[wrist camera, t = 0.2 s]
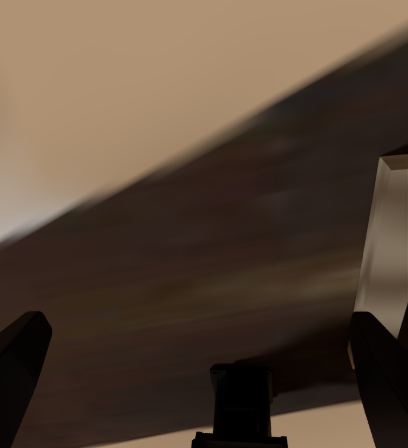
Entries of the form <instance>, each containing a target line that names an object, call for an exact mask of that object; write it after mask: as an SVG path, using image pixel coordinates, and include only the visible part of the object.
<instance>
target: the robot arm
mask: <svg viewBox="0 0 408 448" xmlns="http://www.w3.org/2000/svg"><path fill="white" fill-rule="evenodd" d="M51 337H52V328H51V326H50V324H49V322H48V321H47V319H46V317H45V316H44V314H43V313H42V312H40V311H29V312H26V313H24V314H23V315H22V316H20V317H19V318H18V319H17V320H15V321H14V322H13V323H11V324H10V325H9V326H7V327H6V328H5V329H4V330H2V331H1V332H0V448H11V446H12V443H13V441H14V439H15V436H16V434H17V431H18V429H19V426H20V424H21V422H22V419H23V417H24V414H25V412H26V410H27V407H28V405H29V402H30V400H31V397H32V395H33V393H34V390H35V387H36V385H37V382H38V379H39V376H40V373H41V369H42V366H43V363H44V360H45V356H46V353H47V350H48V346H49V343H50V340H51ZM349 341H350V346H351V351H352V357H353V362H354V367H355V372H356V378H357V383H358V388H359V393H360V397H361V401H362V404H363V407H364V411H365V414H366V417H367V420H368V424H369V427H370V430H371V433H372V437H373V440H374V443H375V446H376V448H408V350H407V349H406V348H405V347H404V346H403V345H402V344H401V343H400V342H399V341H398V340H397V339H396V338H395V337H394V336H393V335H392V334H391V333H390V332H389V331H388V330H387V329H386V327H385V326H384V325H383V324H382V323H381V322H380V321H379V320H378V319H377V318H376V317H375V316H374V315H373V314H372V313H370V312H368V311H355V312H353V314H352V318H351V322H350V327H349ZM210 375H211V380H212V385H213V389H214V394H215V412H214V426H213V433H202V432H196V437H195V439H193V440H192V445H191V448H288V444H287V437H286V436H281V437H272V436H271V419H270V404H271V403H273V389H272V370H271V369H270V368H267V367H211V368H210Z"/></svg>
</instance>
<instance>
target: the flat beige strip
mask: <svg viewBox="0 0 408 448" xmlns="http://www.w3.org/2000/svg"><path fill="white" fill-rule="evenodd" d="M407 303H408V154H405V155H392V156H380V159H379V165H378V171H377V177H376V183H375V189H374V195H373V201H372V207H371V212H370V218H369V224H368V230H367V236H366V242H365V248H364V254H363V260H362V266H361V272H360V278H359V284H358V290H357V296H356V302H355V308H354V312H355V311H368V312H370V313H372V314H373V315H374V316H375V317H376V318H377V319H378V320H379V321H380V322H381V323H382V324H383V325H384V326H385V327H386V329H387V330H388V331H389V332H390V333H391V334H392V335H393V336H394V337H395V338H396V339H397V337H398V334H399V331H400V327H401V324H402V320H403V317H404V314H405V310H406V307H407ZM347 351H348V354H349V358H350V361H351V365H352V368H353V369H355V367H354V362H353V357H352V351H351V346H350V341H349V343H348V349H347Z"/></svg>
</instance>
